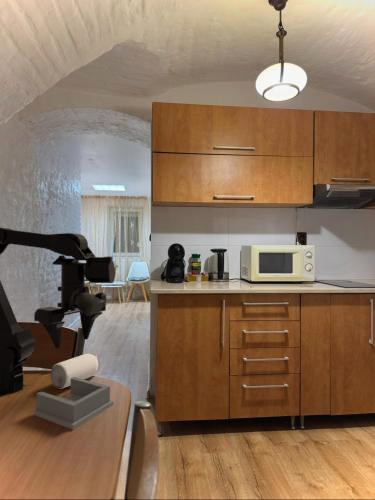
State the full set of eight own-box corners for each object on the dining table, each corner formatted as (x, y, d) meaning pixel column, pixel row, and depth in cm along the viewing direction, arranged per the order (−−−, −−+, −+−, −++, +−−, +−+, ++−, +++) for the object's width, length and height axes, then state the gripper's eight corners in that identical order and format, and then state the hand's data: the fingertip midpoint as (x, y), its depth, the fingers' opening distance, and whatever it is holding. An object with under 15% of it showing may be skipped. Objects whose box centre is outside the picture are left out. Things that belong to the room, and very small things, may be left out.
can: (65, 365, 84) (100, 353, 95) (49, 362, 87) (84, 351, 98) (66, 391, 84) (101, 376, 94) (49, 387, 87) (85, 373, 98)
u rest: (33, 415, 73) (34, 394, 72) (76, 393, 83) (76, 376, 83) (73, 430, 67) (73, 407, 67) (113, 405, 77) (113, 386, 77)
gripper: (66, 288, 73) (65, 359, 73) (121, 281, 89) (121, 339, 89) (32, 285, 78) (32, 351, 78) (90, 279, 95) (90, 333, 95)
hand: (72, 343), depth 85 cm, fingers open, 9 cm apart
